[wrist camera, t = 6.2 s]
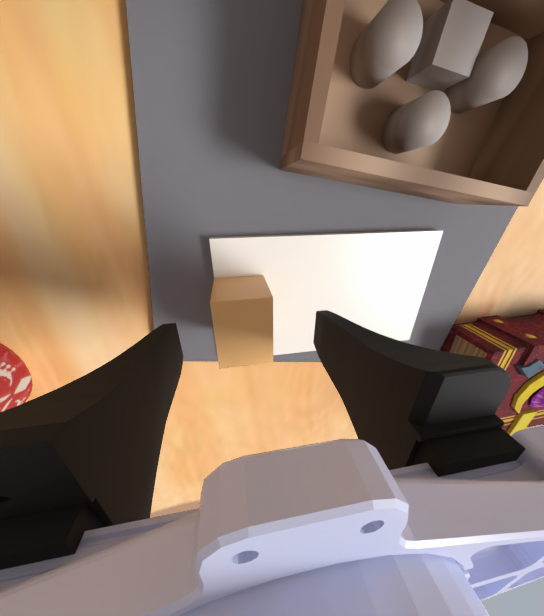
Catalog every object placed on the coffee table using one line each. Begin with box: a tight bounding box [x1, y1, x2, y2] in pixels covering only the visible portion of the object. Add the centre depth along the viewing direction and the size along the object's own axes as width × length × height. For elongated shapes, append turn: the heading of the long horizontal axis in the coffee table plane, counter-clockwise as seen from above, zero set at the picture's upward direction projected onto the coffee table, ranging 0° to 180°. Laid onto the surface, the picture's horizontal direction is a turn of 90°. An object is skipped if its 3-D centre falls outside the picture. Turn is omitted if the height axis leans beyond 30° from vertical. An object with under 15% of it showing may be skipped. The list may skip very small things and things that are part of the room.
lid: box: [209, 230, 443, 369], centre depth 14 cm, size 15×9×4 cm, turn 90°
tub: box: [280, 0, 544, 206], centre depth 10 cm, size 12×8×4 cm, turn 82°
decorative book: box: [441, 309, 544, 436], centre depth 22 cm, size 11×16×5 cm
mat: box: [126, 0, 518, 362], centre depth 14 cm, size 24×22×1 cm
